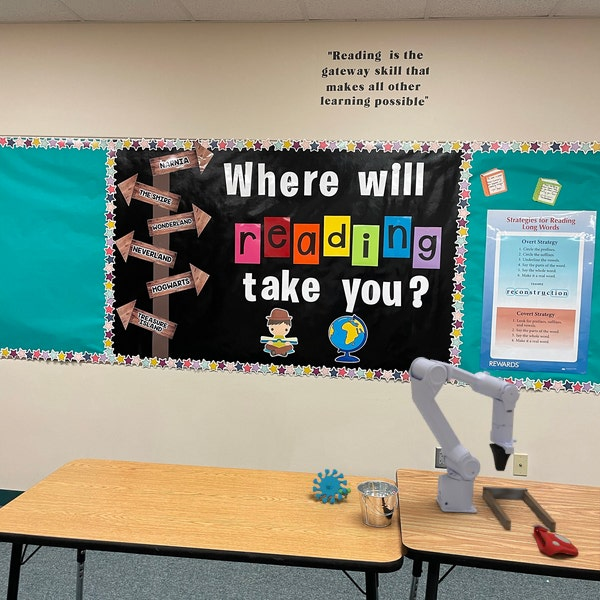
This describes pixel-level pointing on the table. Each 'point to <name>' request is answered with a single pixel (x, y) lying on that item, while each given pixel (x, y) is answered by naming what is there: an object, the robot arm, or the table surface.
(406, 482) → the table surface
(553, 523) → the frame
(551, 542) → the tracker holder
